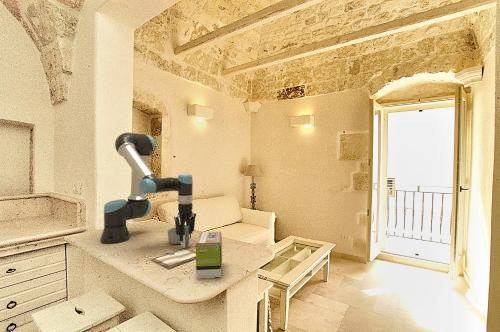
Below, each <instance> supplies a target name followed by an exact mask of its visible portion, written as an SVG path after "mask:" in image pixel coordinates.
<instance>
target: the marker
mask: <svg viewBox="0 0 500 332" xmlns="http://www.w3.org/2000/svg"><path fill="white" fill-rule="evenodd" d="M184 235H185V249H187V247H188V248H189V247H190V246H189V226H188V225H186V224H185V227H184Z"/></svg>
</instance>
